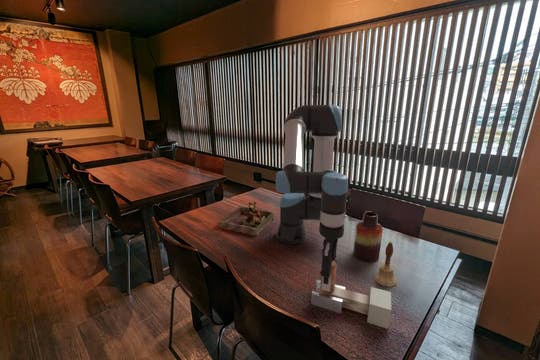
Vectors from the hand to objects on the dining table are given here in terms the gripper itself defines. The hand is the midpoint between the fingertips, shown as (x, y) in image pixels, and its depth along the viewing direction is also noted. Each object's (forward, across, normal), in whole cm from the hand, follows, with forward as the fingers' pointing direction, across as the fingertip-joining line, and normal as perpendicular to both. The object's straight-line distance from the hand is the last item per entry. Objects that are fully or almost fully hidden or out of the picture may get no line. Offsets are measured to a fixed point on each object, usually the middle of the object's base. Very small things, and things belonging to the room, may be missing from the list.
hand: (327, 284), depth 86 cm
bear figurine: (+7, +42, +50) cm, 66 cm away
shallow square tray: (+7, +41, +54) cm, 68 cm away
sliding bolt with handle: (+6, 0, -8) cm, 9 cm away
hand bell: (+7, +20, -18) cm, 28 cm away
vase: (+7, +34, -10) cm, 36 cm away
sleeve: (+7, 0, -1) cm, 7 cm away
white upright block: (+7, 0, -17) cm, 18 cm away
